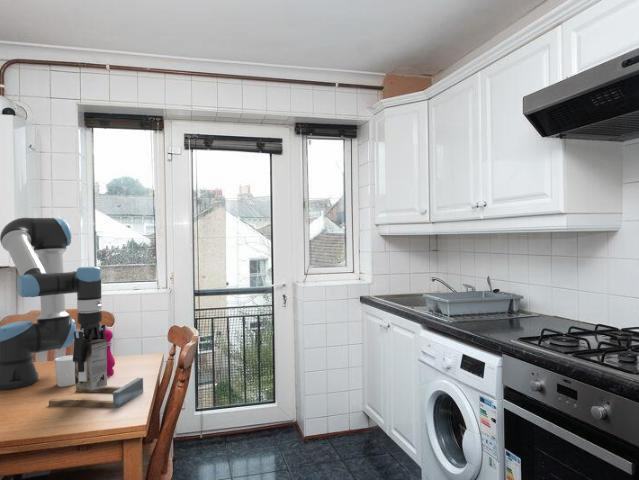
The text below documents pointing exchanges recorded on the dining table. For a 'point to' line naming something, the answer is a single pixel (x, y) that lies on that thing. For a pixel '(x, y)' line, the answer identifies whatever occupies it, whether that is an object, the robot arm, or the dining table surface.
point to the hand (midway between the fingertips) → (91, 377)
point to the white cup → (65, 371)
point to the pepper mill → (109, 353)
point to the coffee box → (94, 366)
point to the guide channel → (119, 393)
